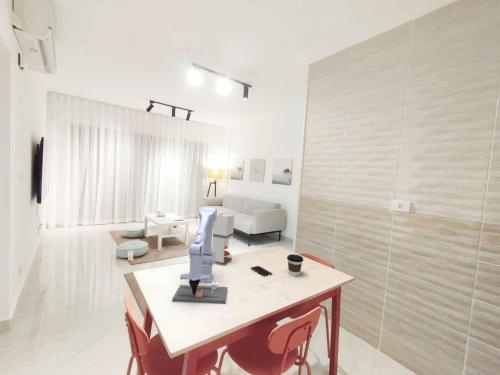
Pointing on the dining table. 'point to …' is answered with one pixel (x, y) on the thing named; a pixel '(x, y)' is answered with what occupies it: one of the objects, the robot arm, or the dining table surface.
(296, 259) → the coffee cup
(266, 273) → the phone
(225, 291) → the console
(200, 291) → the fader terracotta
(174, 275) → the dining table surface
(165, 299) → the dining table surface
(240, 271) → the dining table surface
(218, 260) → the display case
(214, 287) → the fader white
